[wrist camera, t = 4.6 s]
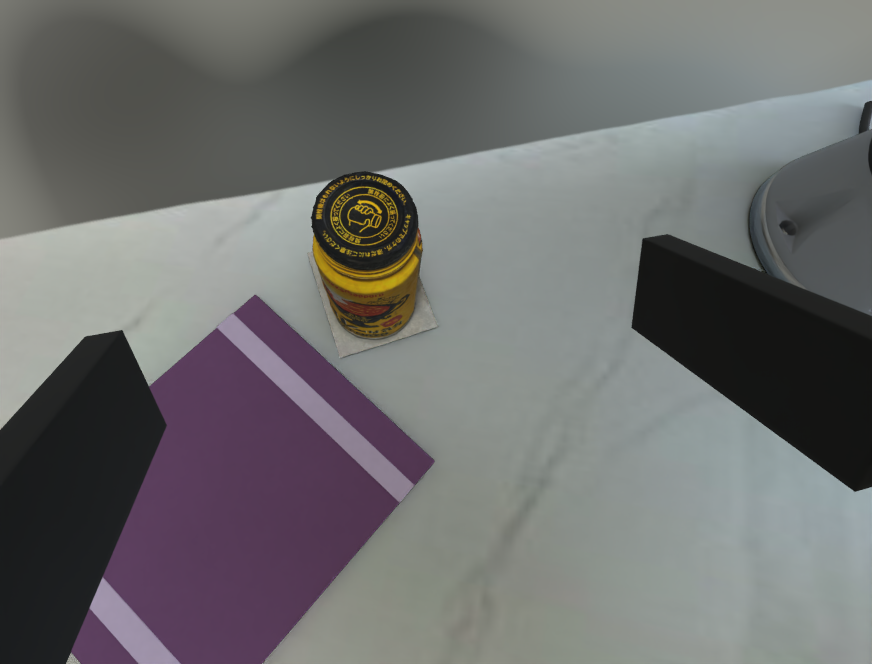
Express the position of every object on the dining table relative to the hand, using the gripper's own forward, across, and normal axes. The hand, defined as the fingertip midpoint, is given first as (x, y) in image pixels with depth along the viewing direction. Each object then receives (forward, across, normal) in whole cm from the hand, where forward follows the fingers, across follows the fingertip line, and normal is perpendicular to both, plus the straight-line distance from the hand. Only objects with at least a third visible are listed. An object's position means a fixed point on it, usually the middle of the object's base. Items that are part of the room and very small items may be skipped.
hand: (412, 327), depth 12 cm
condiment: (+22, 0, -8) cm, 23 cm away
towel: (+13, -12, -16) cm, 24 cm away
